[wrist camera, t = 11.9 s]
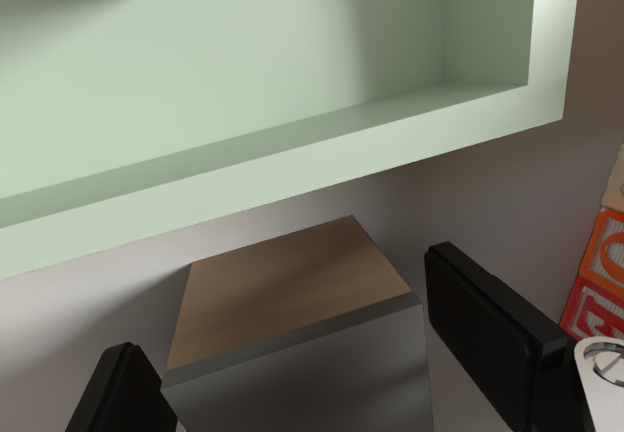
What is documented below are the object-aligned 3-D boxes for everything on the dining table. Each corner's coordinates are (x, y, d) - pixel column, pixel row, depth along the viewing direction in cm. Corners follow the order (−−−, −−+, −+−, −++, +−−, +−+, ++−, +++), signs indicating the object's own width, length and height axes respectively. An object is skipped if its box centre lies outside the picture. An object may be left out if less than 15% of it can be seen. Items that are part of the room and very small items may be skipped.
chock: (351, 213, 10) (422, 303, 6) (372, 328, 12) (435, 450, 8) (192, 260, 10) (160, 390, 6) (244, 371, 12) (246, 521, 8)
